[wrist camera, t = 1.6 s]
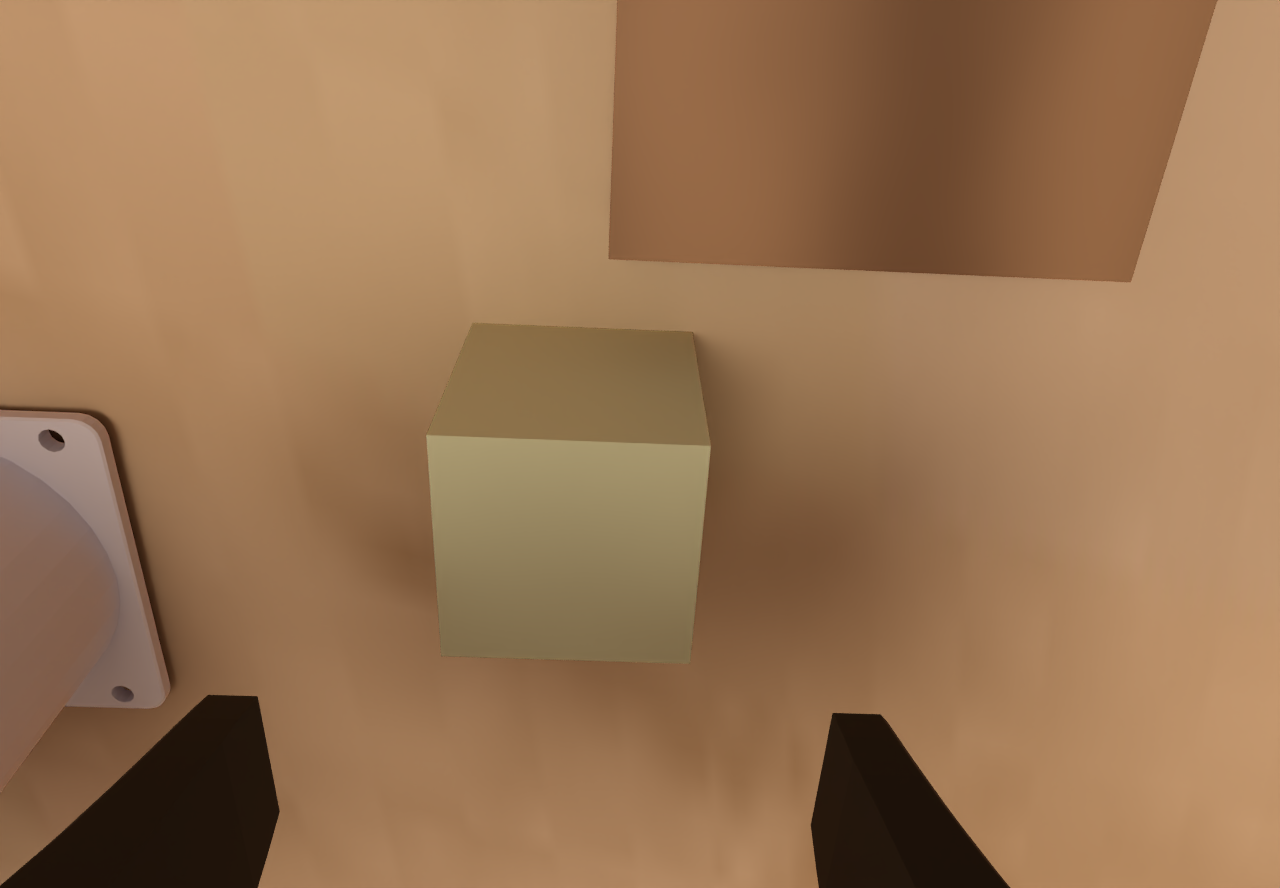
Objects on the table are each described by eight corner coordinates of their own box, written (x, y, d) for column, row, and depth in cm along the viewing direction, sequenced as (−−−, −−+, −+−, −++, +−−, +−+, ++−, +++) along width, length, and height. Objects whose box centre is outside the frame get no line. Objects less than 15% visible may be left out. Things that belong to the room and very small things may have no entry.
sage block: (479, 508, 21) (441, 656, 17) (473, 321, 19) (426, 435, 15) (677, 515, 21) (690, 664, 17) (692, 330, 19) (711, 445, 15)
